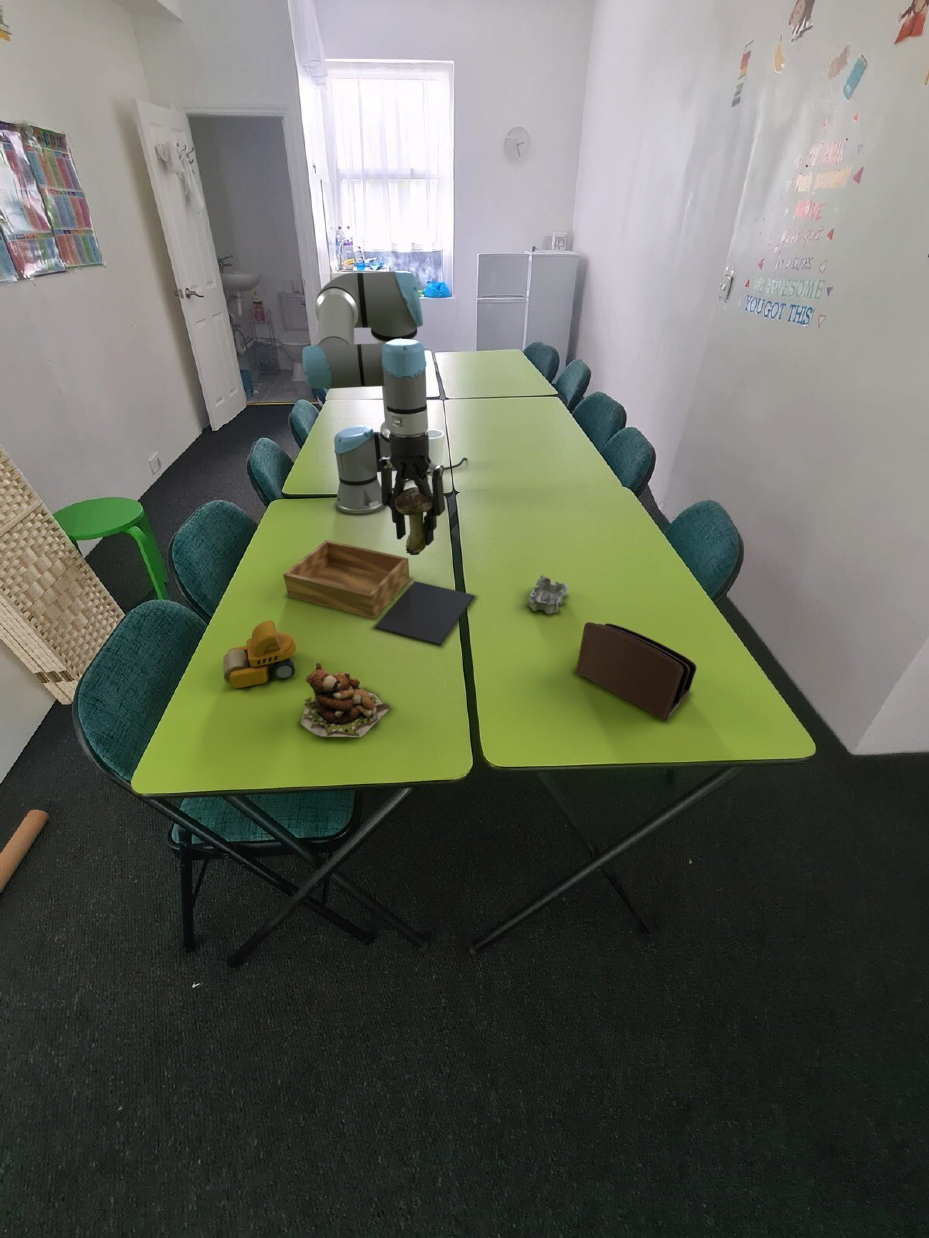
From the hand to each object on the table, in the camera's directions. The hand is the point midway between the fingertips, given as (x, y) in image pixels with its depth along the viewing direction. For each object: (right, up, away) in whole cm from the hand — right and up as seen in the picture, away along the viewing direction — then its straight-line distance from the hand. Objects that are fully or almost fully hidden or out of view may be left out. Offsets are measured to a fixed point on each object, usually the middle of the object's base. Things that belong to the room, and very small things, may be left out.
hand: (415, 539), depth 119 cm
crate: (-18, -9, +19) cm, 28 cm away
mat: (+2, -16, +11) cm, 19 cm away
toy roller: (-31, -28, -5) cm, 42 cm away
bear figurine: (-12, -35, -15) cm, 40 cm away
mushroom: (0, -3, +2) cm, 4 cm away
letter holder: (+44, -30, -8) cm, 54 cm away
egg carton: (+30, -13, +14) cm, 36 cm away
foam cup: (-1, +35, +78) cm, 86 cm away
